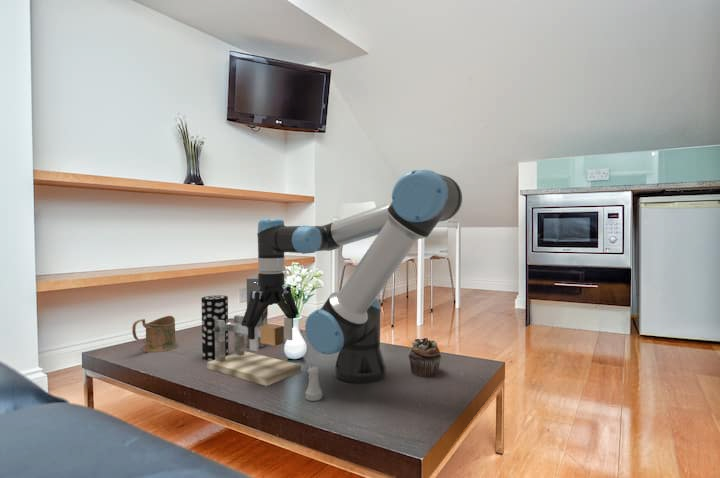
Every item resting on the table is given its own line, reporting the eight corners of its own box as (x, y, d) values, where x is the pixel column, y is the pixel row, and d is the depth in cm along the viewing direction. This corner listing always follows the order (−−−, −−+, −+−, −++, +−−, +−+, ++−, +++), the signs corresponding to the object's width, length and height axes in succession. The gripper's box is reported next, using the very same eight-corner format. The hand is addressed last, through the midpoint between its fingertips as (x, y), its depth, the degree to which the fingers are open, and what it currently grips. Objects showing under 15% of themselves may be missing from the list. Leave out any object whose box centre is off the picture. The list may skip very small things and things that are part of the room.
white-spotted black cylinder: (232, 353, 146) (231, 295, 145) (222, 360, 137) (221, 299, 137) (209, 352, 146) (208, 295, 146) (197, 360, 138) (196, 299, 138)
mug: (120, 355, 144) (120, 320, 143) (160, 342, 160) (159, 310, 160) (147, 358, 140) (147, 322, 140) (185, 344, 157) (184, 312, 156)
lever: (283, 343, 123) (283, 326, 123) (275, 345, 120) (274, 328, 120) (231, 332, 137) (230, 316, 136) (222, 334, 134) (221, 318, 134)
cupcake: (447, 372, 125) (447, 339, 125) (426, 380, 119) (426, 345, 119) (423, 364, 133) (422, 333, 132) (401, 371, 126) (401, 338, 126)
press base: (301, 371, 127) (300, 323, 126) (266, 386, 115) (266, 333, 115) (243, 356, 141) (242, 313, 141) (207, 368, 130) (206, 321, 129)
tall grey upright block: (264, 347, 152) (263, 278, 151) (246, 348, 152) (246, 278, 151) (269, 337, 166) (269, 274, 165) (254, 338, 166) (253, 274, 165)
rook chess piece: (301, 398, 107) (301, 366, 107) (315, 393, 110) (315, 362, 110) (312, 403, 104) (312, 371, 104) (326, 398, 107) (326, 366, 107)
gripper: (291, 268, 135) (292, 333, 136) (227, 275, 115) (228, 352, 115) (309, 269, 131) (309, 337, 132) (246, 277, 111) (247, 357, 111)
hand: (271, 344), depth 124 cm, fingers open, 13 cm apart
